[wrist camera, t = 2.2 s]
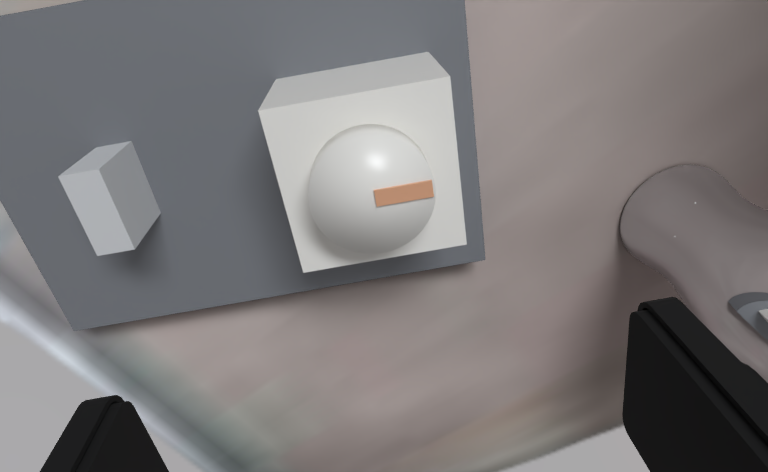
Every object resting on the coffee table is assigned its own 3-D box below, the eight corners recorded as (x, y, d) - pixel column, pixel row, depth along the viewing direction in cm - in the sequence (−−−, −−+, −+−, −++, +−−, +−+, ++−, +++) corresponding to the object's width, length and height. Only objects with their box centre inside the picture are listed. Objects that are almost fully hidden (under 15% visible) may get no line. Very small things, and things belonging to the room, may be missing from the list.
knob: (310, 216, 25) (300, 294, 20) (275, 79, 22) (251, 122, 16) (444, 192, 25) (475, 264, 19) (428, 51, 22) (458, 85, 16)
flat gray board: (-60, 27, 22) (-172, 46, 18) (449, -67, 22) (479, -74, 17) (90, 308, 29) (40, 378, 25) (476, 241, 29) (503, 298, 24)
